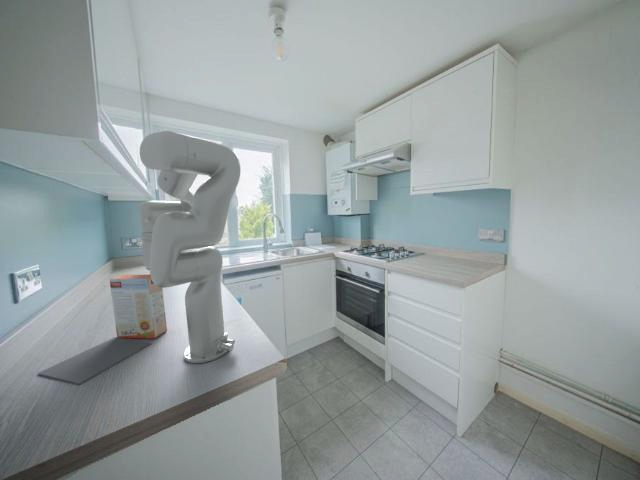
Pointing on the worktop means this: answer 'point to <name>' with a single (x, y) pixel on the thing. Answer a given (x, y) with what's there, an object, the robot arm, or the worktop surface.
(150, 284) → the cracker box
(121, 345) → the mat
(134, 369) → the worktop surface
